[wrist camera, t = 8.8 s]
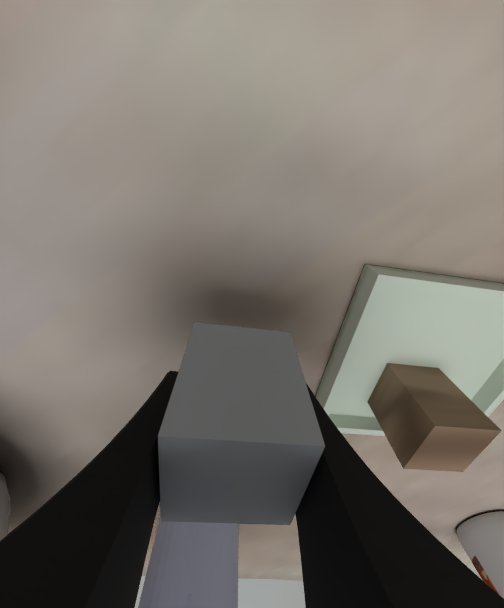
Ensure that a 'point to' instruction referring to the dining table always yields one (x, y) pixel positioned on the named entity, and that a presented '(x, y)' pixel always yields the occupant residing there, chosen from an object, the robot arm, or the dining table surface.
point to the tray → (414, 340)
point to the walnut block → (429, 419)
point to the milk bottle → (485, 547)
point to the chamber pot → (4, 507)
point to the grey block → (237, 430)
